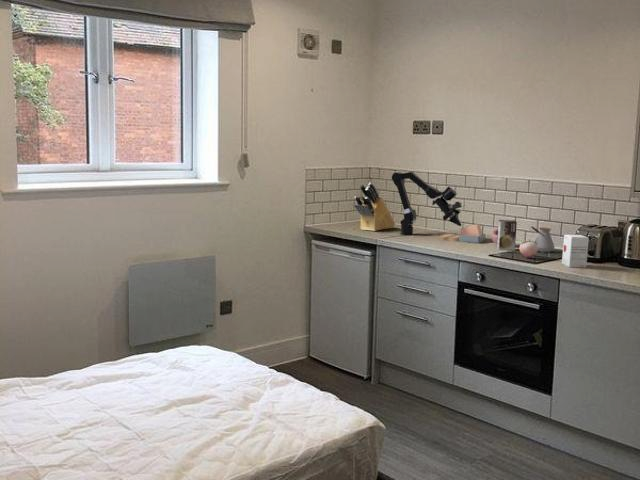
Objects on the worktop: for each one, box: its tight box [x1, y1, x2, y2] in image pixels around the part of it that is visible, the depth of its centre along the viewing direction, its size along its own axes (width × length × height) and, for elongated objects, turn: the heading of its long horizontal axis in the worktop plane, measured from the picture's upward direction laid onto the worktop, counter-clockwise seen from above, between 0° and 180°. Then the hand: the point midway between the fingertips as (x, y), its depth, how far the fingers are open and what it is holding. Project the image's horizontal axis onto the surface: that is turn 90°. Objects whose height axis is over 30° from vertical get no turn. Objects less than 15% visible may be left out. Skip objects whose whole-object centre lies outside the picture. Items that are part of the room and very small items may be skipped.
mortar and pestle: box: [491, 227, 498, 245], centre depth 410 cm, size 12×12×12 cm
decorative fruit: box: [519, 239, 538, 259], centre depth 369 cm, size 9×8×10 cm
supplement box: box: [561, 234, 590, 268], centre depth 351 cm, size 9×9×15 cm
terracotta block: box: [460, 223, 484, 236], centre depth 424 cm, size 7×7×10 cm
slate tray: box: [458, 233, 486, 244], centre depth 425 cm, size 12×14×4 cm
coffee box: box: [496, 219, 518, 251], centre depth 397 cm, size 9×6×16 cm
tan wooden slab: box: [438, 233, 460, 242], centre depth 430 cm, size 12×14×2 cm
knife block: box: [353, 182, 396, 232], centre depth 459 cm, size 11×35×31 cm, turn 144°
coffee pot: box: [528, 226, 555, 253], centre depth 389 cm, size 21×12×15 cm, turn 135°
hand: (460, 225), depth 427 cm, fingers closed
